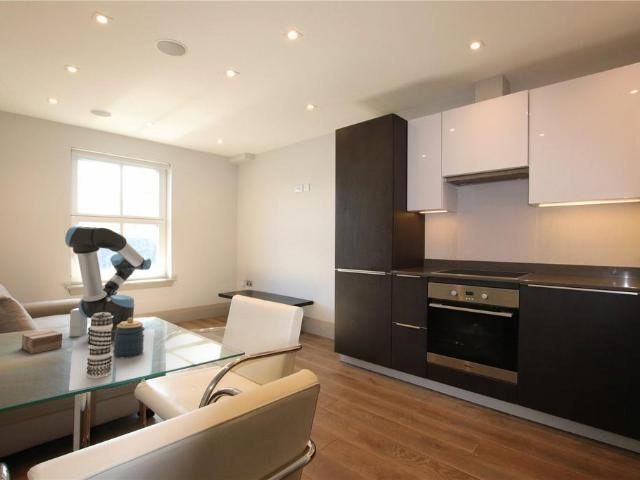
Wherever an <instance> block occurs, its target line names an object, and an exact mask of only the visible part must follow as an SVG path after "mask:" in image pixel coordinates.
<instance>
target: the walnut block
mask: <svg viewBox="0 0 640 480" xmlns="http://www.w3.org/2000/svg"><path fill="white" fill-rule="evenodd" d="M21 337H22V338H21V349H23V350H24V351H26V350H27V351H26V352H28V351H29V353H31V352H32V353H31V354H34V353H33V352H35V353H40V352H46V351H51V350H54V349H55V350H56V349H60V348H62V347H63V333H62V332H58V331H55V330H54V329H49V330H48V329H47V330H42V331H35V332H30V333H29V332H28V333H23V334H22V336H21ZM39 351H40V352H39Z"/></svg>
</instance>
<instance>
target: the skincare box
mask: <svg viewBox="0 0 640 480" xmlns="http://www.w3.org/2000/svg"><path fill="white" fill-rule="evenodd" d="M69 312H70V315H69V316H70V317H69V335H68V336H69V337H82V336H83V335H85V334H88V318H85V317H83V316H82V315H81V314H80V312H79V308H78V307H77V308H73V309H71V310H70V311H69Z"/></svg>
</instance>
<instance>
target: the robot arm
mask: <svg viewBox="0 0 640 480" xmlns="http://www.w3.org/2000/svg"><path fill="white" fill-rule="evenodd" d="M64 240H65V241H64V242H65V244H66V246H67V247H69V248H72V252H73V254H75V255H76V256H77V260H78V265H79V269H80V270H79V271H80V274H81V281H82V285H83V286H82V287H83V291H84V294H83V295H82V296H81V298H80V300H79V302H78V307H77V308H79V312H80V314H81V315H82V316H83V317H85V318H87V319H91V317H92V316H93V315H94V314H96V313H100V312H109V313H111V315H112V316H114V317H113V318H112V323H113V326H115V327H114V328H113V327H112V330H113V331H114V330H115V329H117V328H118V327H117V325H118V324H120V323H121V322H124V321H127V319H128V318H133V319H134V309H135V299H134V298H133V297H132V296H130V295H125V294H124V295H123V294H118V290H120V288H121V286H122V285H123V284H124V283H125V282H126V281H127V280H128V279H129V277H131V275H133V273H134V272H135V270H139V271H146V270H147V271H148V270H150V268H151V266H152V260H151V259H150V258H149V257H143V256H142V255H141V254H140V253H139V252H138V251H137V250H136V249H135V248H133V247H132V245H130V244H129V243H128V242H127V238H126V237H124V236H123V234H121V233H120V232H118V231H116V230H115V229H113V228H111V227H107V226H103V225H84V224H77V225H71V226H70V227H69V228H68V230H67V232H66V233H65V238H64ZM100 249H105V250H109V251H111V252H114V254H113V255H111V257H110V262H111V264H112V266H113V268H114V269H115V271H116V272H115V273H114V274H113V276H111V278H109V279H108V281H107V282H105V285H104V288H103V281H102V274H101V269H100V263H99V257H98V252H99V251H100ZM111 334H113V335H114V336H113V337H111V339H113V341H112V342H114V337H115V334H116V333H115V332H114V333H111Z"/></svg>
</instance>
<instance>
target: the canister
mask: <svg viewBox="0 0 640 480" xmlns="http://www.w3.org/2000/svg"><path fill="white" fill-rule="evenodd" d="M117 327H118V328H117V329H115V330H114V332H115V333H116V334H115V337H114V341H113V353H112V354H113V356H114V357H115V358H119V357H123V358H122V359H125V358H127V357H128V358H134V357H137V356H141V355H142V354H143V353H144V350H145V349H144V343H145V342H144V341H145V340H144V339H145V334H144V331H145V327H144V323H143V322H141V321H140V320H134V317H133V318H128V319H127V321H124V322H121V323H120V324H118V325H117Z"/></svg>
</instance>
